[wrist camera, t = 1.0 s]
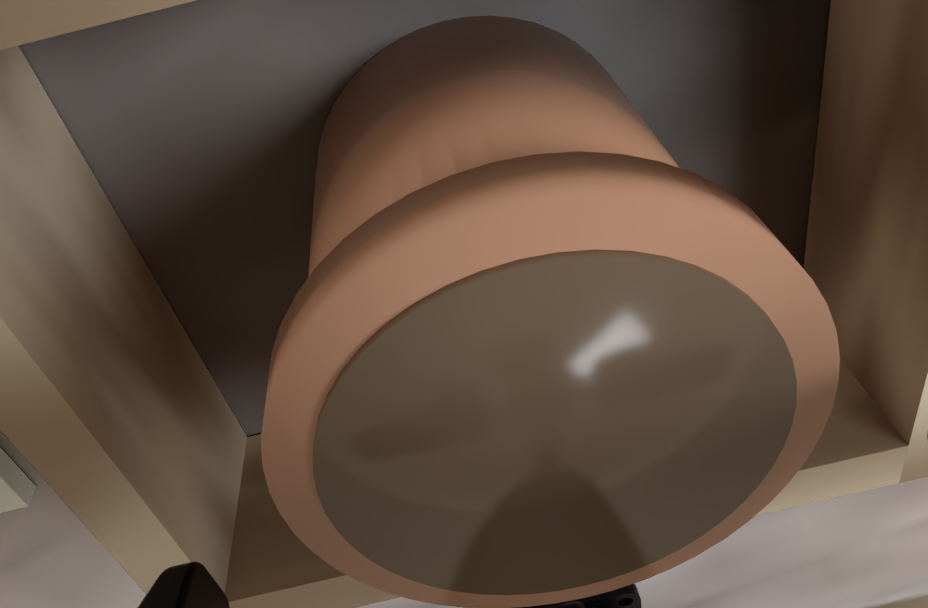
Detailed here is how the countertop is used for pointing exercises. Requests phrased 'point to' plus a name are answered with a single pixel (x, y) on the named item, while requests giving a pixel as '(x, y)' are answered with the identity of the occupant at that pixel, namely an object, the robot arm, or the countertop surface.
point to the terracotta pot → (529, 335)
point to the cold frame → (239, 457)
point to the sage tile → (13, 485)
